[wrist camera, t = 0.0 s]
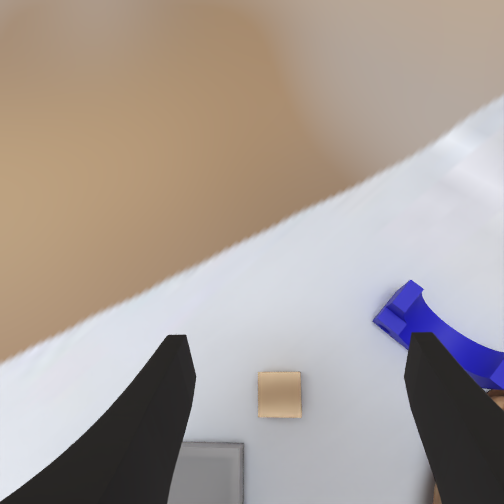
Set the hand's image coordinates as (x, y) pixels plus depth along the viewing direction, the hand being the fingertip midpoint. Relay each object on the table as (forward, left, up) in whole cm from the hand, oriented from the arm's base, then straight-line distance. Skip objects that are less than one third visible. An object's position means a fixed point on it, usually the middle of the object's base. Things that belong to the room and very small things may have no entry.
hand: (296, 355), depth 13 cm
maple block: (-3, +2, -32) cm, 32 cm away
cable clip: (+2, -14, -33) cm, 36 cm away
